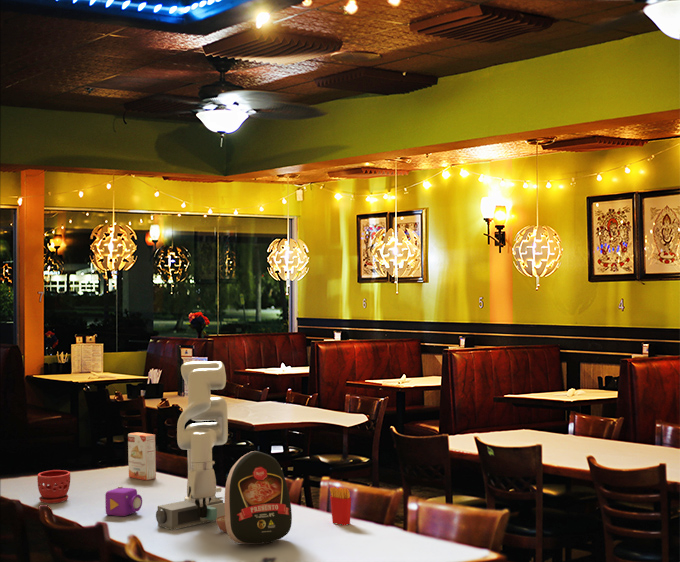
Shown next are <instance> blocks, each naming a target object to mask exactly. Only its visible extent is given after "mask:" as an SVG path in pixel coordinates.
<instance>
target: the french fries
mask: <svg viewBox="0 0 680 562" xmlns="http://www.w3.org/2000/svg"><path fill="white" fill-rule="evenodd" d="M329 491H330V496H329V498H330V509H331V520H332V524H333V523H337V524H336V525H338V524H342V525H341V526H348V525H347V524H349V525H351V512H352V511H351V510H352V509H351V508H352V497H351V492H350V490H349V489H348V488H347V487H341V486H339V487H337V486H332V487H329Z"/></svg>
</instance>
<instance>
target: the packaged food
mask: <svg viewBox="0 0 680 562" xmlns="http://www.w3.org/2000/svg"><path fill="white" fill-rule="evenodd" d="M287 485H288V484H287V481H286V477H285V475H284V471H283V469H282V467H281V465H280V464H279V462H278V461H277V459H276V458H275V457H273V456H272V455H270V454H268V453H264V452H261V451H257V450H254V451H250V452H247V453H246V454H244V455H243V456H241V457H240V458H239V459H238V460H237V461H236V462H235V463H234V464H233V465H232V467H231V468H230V470H229V473H228V476H227V477H226V482H225V489H224V503H225V524H226V530H227V533H226V534H227V536H228V537H229V538H230V541H232V542H233V543H236V544H240V545H243V544H245V545H247V544H254V545H257V544H270V543H273V542H275V541H278V540H282V539H283V538H284V537H285V536H287V535H288V534H289V532H290V531H291V527H292V523H293V522H292V521H293V515H292V514H293V513H292V504H291V498H290V493H289V489H288V486H287Z"/></svg>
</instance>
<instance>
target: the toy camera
mask: <svg viewBox="0 0 680 562" xmlns="http://www.w3.org/2000/svg"><path fill="white" fill-rule="evenodd" d="M104 495H105V496H104V497H105V502H104V503H105V514H106V515H108V516H114V517H115V516H116V517H126V516H128V515H129V516H130V515H132V514H134V513H137V512H139V511H140V510H141V508H142V505H143V497H142V496H141V494H138V491H137V489H136V488H135V487H134V488H133V487H132V488H131V487H123V486H122V485H119V486H117V488H114V489H110V490H108V491H106V492H105V494H104Z"/></svg>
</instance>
